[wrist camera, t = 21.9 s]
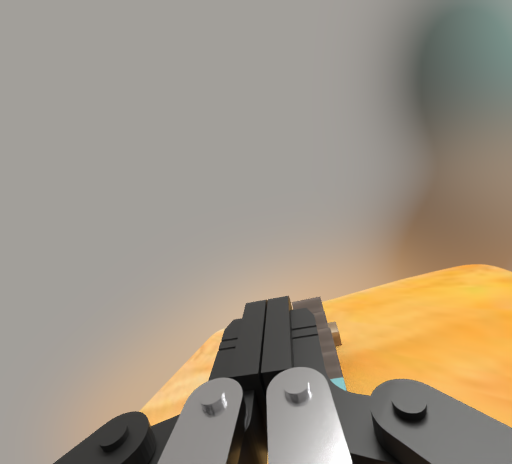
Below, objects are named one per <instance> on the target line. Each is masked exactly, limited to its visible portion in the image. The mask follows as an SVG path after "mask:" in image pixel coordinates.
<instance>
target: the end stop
mask: <svg viewBox="0 0 512 464" xmlns="http://www.w3.org/2000/svg"><path fill="white" fill-rule="evenodd" d="M327 324H328V328H330V329H331V333H332V336H333V340H334V344H335V346H337V345H342V344H341V339H340V335H339V331H338V328H337V325H336V322H330V323H327Z"/></svg>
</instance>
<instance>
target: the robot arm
mask: <svg viewBox="0 0 512 464" xmlns="http://www.w3.org/2000/svg"><path fill="white" fill-rule="evenodd" d="M267 455H268V464H512V428H511V427H509V426H507V425H505V424H503V423H501V422H499V421H497V420H495V419H493V418H491V417H489V416H487V415H485V414H484V413H482V412H480V411H478V410H476V409H474V408H472V407H470V406H468V405H466V404H464V403H462V402H460V401H458V400H456V399H454V398H452V397H450V396H448V395H446V394H444V393H442V392H440V391H438V390H436V389H434V388H432V387H430V386H428V385H426V384H424V383H421V382H418V381H414V380H409V379H394V380H390V381H386V382H384V383H382V384H380V385H379V386H378V387H376V388H375V390H374V391H373V393H372V394H371V396H368V395H361V394H355V393H351V392H348V391H345V390H343V389H341V388H339V387H338V386H336V385H335V384H334V383H333V382H332V381H331V380H330V379H329V377H328V375H327V373H326V369H325V364H324V359H323V354H322V350H321V345H320V340H319V335H318V330H317V326H316V321H315V316H314V314H313V313H312V312H310V311H309V310H308V309H307V308H301V309H295V310H292V306H291V302H290V298H289V296H285V297H279V298H273V299H268V301H267V300H263V301H256V302H251V303H246V305H245V310H244V314H243V318H242V319H236V320H233V321H232V322H231V323H230V324H229V326H228V327H227V328H226V329H225V331H224V334H223V337H222V342H221V343H220V346H219V351H218V353H217V356H216V359H215V362H214V365H213V368H212V371H211V374H210V377H209V381H208V382H206V383H204V384H202V385H201V386H199V387H198V388H197V389H196V390H194V391H193V393H192V394H191V395H190V396H189V398H188V399H187V401H186V403H185V405H184V407H183V409H182V412H181V414H179V415H177V416H175V417H173V418H170V419H168V420H165V421H163V422H160V423H158V424H155V425H153V426H150V423H149V421H148V418H147V417H146V415H145V414H143V413H141V412H129V413H125V414H122V415H120V416H117V417H115V418H114V419H112V420H110V421H109V422H107V423H106V424H105V425H103V426H102V427H100V428H99V429H98V430H97V431H95V432H94V433H93V434H91V435H90V436H89V437H88V438H86V439H85V440H84V441H82V442H81V443H80V444H78V445H77V446H76V447H74V448H73V449H72V450H71V451H69V452H68V453H66V454H65V455H64V456H63V457H61V458H60V459H59V460H57V461H56V462H55V463H53V464H267Z"/></svg>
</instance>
